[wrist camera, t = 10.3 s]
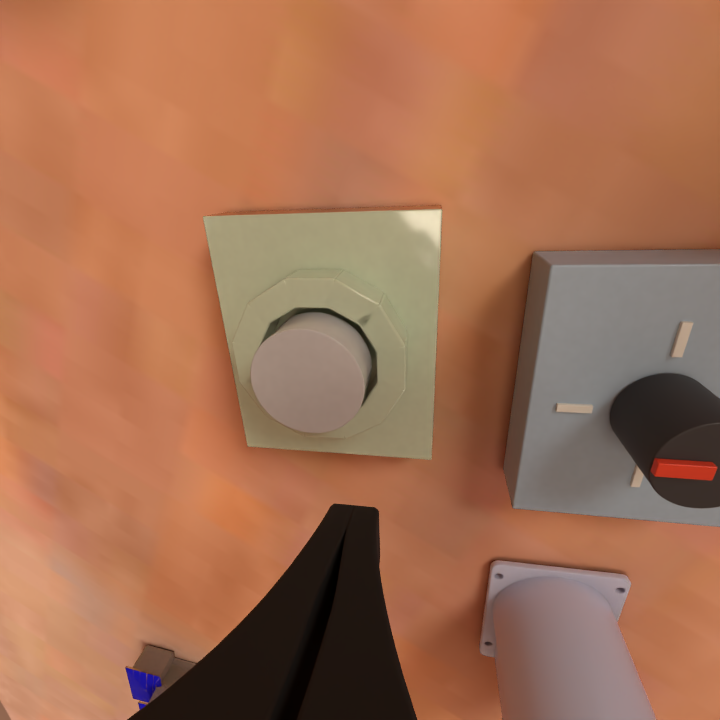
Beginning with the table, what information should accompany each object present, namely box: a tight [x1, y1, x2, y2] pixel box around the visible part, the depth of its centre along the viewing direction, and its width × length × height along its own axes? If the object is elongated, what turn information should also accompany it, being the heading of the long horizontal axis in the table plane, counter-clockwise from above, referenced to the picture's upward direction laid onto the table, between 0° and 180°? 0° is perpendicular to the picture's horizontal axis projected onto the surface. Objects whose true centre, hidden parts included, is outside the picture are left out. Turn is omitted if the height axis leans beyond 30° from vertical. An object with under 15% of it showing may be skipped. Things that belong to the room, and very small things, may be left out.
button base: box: [203, 205, 442, 460], centre depth 19 cm, size 12×10×4 cm
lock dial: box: [610, 373, 720, 509], centre depth 15 cm, size 4×4×4 cm
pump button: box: [250, 312, 372, 433], centre depth 16 cm, size 5×5×2 cm
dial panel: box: [503, 249, 720, 527], centre depth 18 cm, size 12×10×3 cm
